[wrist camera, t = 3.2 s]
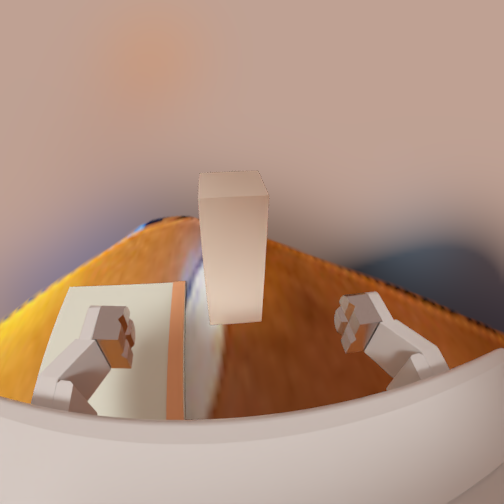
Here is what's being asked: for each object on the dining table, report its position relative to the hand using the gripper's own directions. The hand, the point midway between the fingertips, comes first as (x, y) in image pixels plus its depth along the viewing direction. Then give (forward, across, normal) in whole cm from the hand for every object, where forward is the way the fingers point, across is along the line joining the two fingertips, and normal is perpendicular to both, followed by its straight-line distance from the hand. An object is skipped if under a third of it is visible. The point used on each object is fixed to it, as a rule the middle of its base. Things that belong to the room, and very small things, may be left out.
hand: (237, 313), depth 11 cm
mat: (+6, +10, +12) cm, 17 cm away
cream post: (+12, -1, +12) cm, 17 cm away
